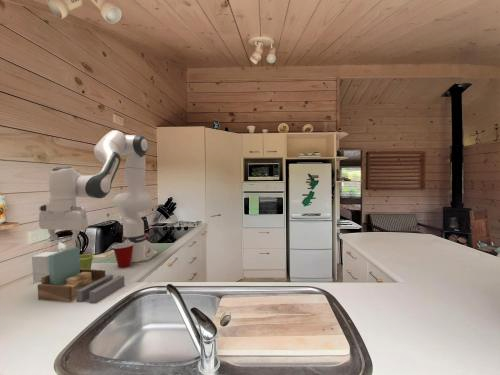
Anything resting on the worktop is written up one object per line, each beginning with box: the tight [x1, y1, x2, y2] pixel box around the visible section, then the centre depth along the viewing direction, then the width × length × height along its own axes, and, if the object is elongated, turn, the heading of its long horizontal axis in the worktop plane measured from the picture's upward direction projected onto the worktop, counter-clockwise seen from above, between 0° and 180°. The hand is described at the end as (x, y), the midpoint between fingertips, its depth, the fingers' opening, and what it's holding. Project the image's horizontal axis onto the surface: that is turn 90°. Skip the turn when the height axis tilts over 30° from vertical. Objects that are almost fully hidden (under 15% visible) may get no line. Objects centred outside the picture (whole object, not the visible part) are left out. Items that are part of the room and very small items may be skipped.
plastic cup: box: [111, 242, 134, 269], centre depth 139 cm, size 11×11×12 cm
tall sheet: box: [49, 246, 80, 286], centre depth 106 cm, size 12×2×16 cm, turn 169°
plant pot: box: [79, 253, 95, 270], centre depth 128 cm, size 9×9×9 cm
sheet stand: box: [75, 274, 125, 304], centre depth 103 cm, size 16×8×6 cm, turn 169°
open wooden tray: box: [37, 269, 106, 303], centre depth 105 cm, size 18×14×10 cm
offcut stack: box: [64, 272, 95, 297], centre depth 105 cm, size 12×5×6 cm, turn 169°
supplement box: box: [31, 251, 59, 285], centre depth 120 cm, size 7×7×13 cm
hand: (63, 240), depth 105 cm, fingers open, 8 cm apart
